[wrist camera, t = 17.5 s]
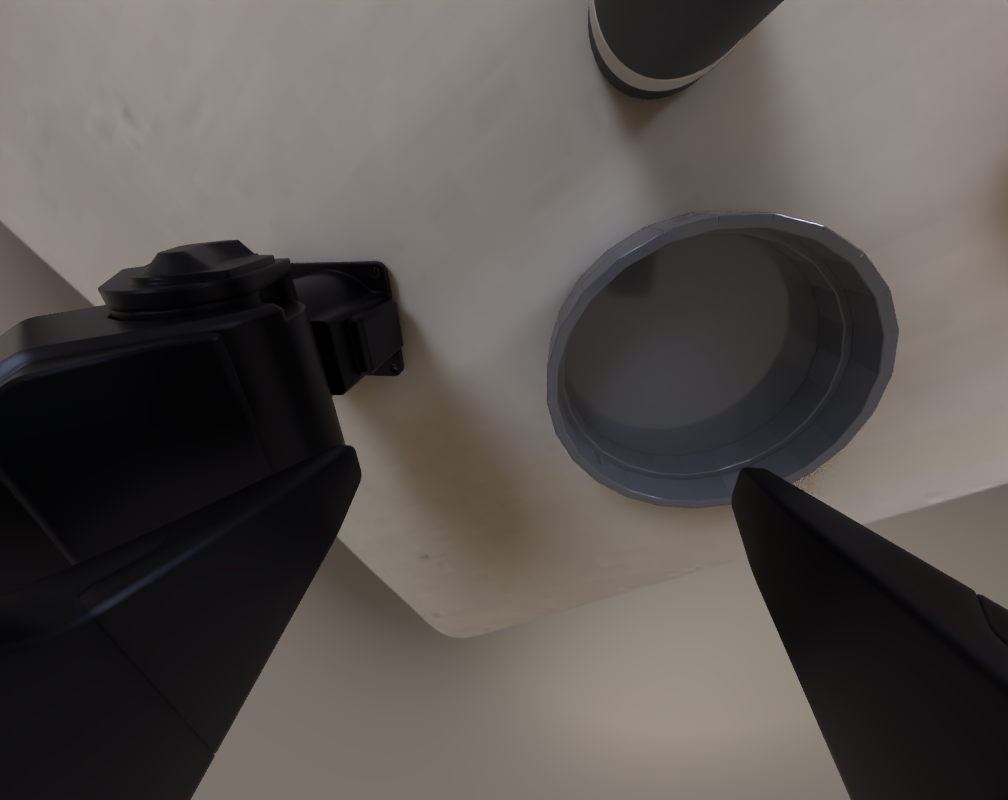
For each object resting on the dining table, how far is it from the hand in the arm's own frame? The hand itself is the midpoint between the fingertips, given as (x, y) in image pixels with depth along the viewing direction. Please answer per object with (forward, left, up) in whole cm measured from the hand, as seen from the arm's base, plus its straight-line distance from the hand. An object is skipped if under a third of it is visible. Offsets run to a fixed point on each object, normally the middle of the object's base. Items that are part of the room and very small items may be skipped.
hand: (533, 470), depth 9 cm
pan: (+7, -2, -13) cm, 15 cm away
